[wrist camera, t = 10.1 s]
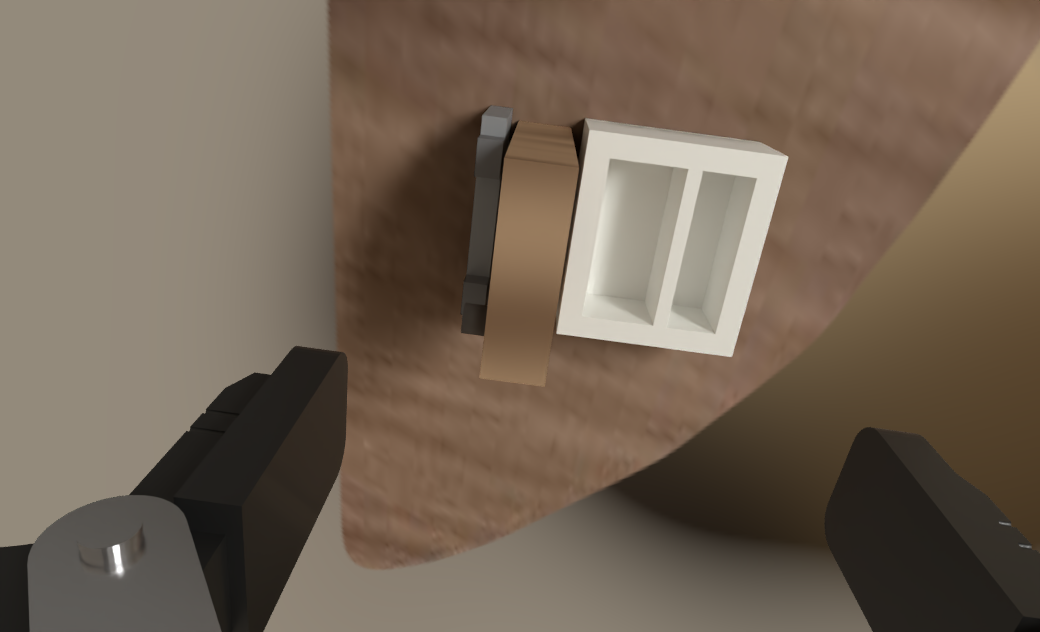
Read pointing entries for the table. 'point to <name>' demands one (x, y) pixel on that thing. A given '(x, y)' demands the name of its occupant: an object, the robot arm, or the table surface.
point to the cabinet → (645, 232)
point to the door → (527, 255)
